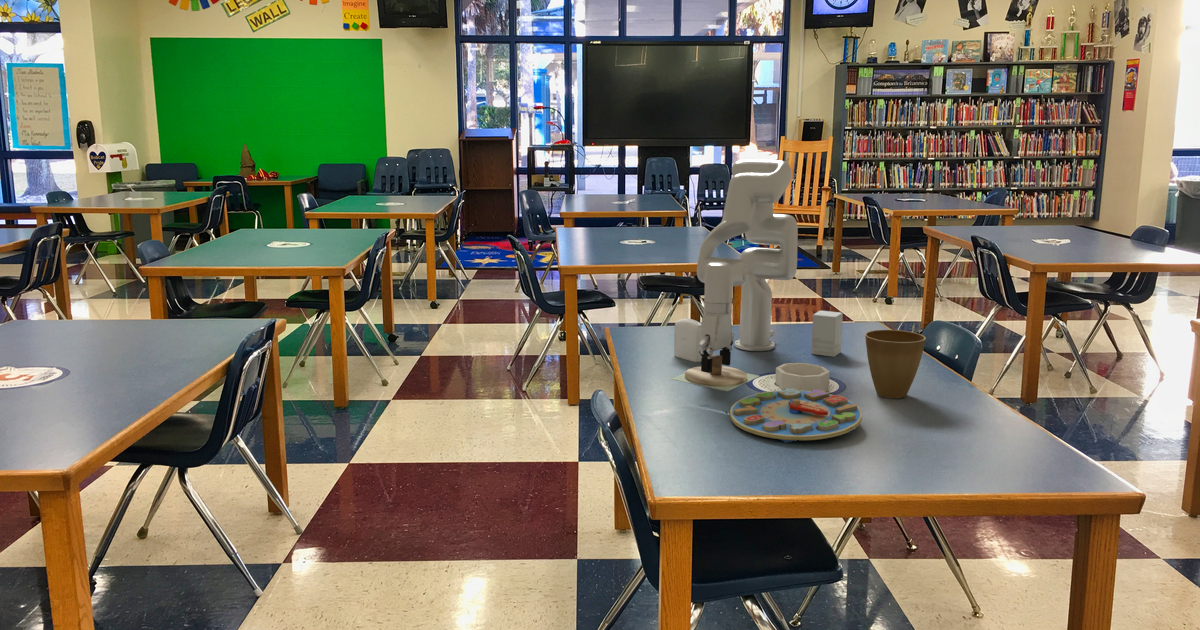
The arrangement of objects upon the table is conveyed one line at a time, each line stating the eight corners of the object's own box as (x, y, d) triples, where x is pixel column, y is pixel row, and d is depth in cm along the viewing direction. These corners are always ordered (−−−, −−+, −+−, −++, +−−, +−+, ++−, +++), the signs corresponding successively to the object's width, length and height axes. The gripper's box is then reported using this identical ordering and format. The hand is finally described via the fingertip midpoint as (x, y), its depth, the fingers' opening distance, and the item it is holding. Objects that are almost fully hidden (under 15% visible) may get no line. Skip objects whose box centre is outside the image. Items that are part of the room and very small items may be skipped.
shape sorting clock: (706, 412, 218) (706, 389, 216) (808, 398, 230) (809, 375, 228) (777, 454, 190) (778, 428, 189) (889, 435, 202) (891, 410, 201)
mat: (704, 366, 257) (704, 364, 256) (760, 377, 246) (760, 375, 246) (670, 380, 243) (670, 378, 243) (727, 393, 232) (727, 391, 232)
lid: (705, 365, 256) (705, 345, 254) (757, 376, 246) (758, 355, 244) (673, 378, 243) (673, 357, 241) (726, 390, 232) (727, 368, 231)
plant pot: (929, 393, 232) (935, 335, 228) (906, 407, 221) (911, 345, 218) (876, 382, 242) (880, 326, 238) (851, 394, 231) (855, 335, 227)
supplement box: (841, 352, 274) (843, 312, 271) (833, 357, 267) (836, 316, 265) (818, 349, 277) (820, 309, 275) (810, 354, 271) (812, 314, 269)
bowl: (790, 377, 246) (791, 360, 245) (834, 386, 238) (835, 368, 237) (768, 388, 236) (769, 370, 235) (813, 398, 228) (815, 379, 227)
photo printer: (671, 357, 267) (672, 317, 264) (681, 355, 270) (682, 315, 267) (696, 364, 259) (697, 323, 257) (706, 362, 262) (707, 321, 259)
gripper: (722, 301, 249) (720, 359, 252) (689, 310, 235) (687, 372, 239) (745, 304, 244) (743, 364, 248) (713, 314, 231) (711, 377, 234)
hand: (715, 368), depth 243 cm, fingers open, 9 cm apart
